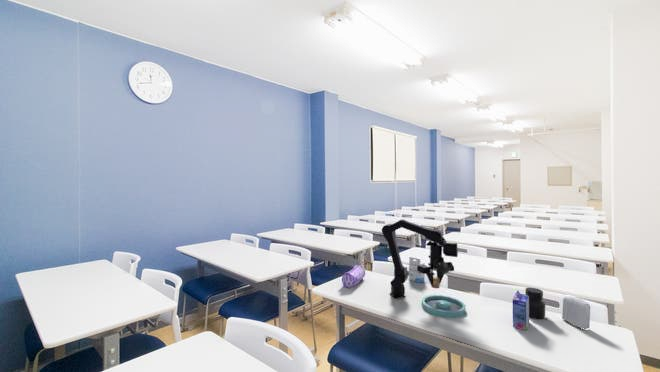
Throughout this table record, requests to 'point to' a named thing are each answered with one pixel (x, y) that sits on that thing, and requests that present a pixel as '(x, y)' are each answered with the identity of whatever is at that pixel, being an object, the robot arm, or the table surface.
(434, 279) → the wooden bead
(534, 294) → the ink bottle
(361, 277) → the pencil case
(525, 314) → the ink cartridge box
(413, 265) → the ink box
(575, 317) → the photo printer
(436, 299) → the round tray
